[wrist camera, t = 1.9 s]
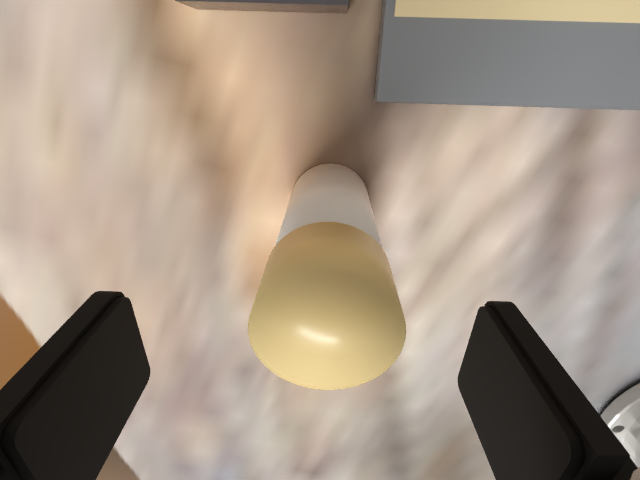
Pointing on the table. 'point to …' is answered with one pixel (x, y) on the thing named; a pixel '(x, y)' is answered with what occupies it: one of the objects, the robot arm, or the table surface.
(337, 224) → the marker
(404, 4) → the board
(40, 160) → the table surface
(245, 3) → the button housing
